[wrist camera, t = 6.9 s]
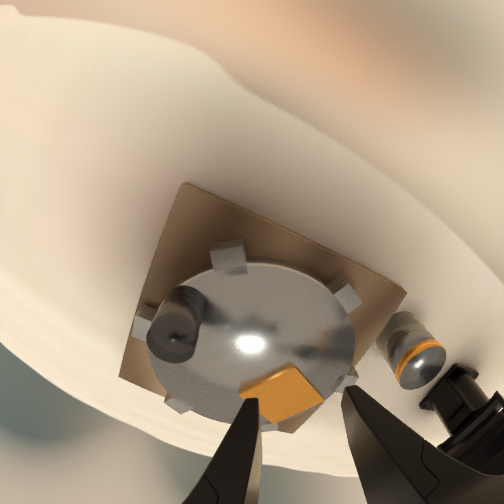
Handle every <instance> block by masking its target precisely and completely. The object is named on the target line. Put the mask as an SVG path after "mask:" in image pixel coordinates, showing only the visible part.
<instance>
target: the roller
mask: <svg viewBox="0 0 504 504" xmlns="http://www.w3.org/2000/svg"><path fill="white" fill-rule="evenodd" d="M376 344H377V346H378V348H379V349H380V351H381V352H382V354H383V356H384V357H385V359H386V361H387V362H388V364H389V366H390V367H391V369H392V371H393V373H394V374H395V377H396V379H397V381H398V382H399V384H400V386H401V387H402V388H404V389H407V390H412V389H417V388H420V387H422V386H424V385H425V384H427V383H429V382H430V381H431V380H432V379H433V378H434V377H435V376H436V375H437V374H438V373H439V372H440V370H441V369H442V367H443V365H444V363H445V360H446V351H445V349H444V348H443V347H442V345H441V344H440V343H439V342H438V341H436V340H435V338H434V337H433V336H432V335H431V334H430V333H429V332H428V330H427V329H426V328H425V327H424V326H423V325H422V324H421V323H420V322H419V320H418V319H417V318H416V317H415V316H414V315H413V314H412V313H410V312H399V313H396V314H394V315H392V317H391V318H390V320H389V321H388V323H387V324H386V326H385V327H384V328H383V330H382V331H381V333H380V334H379V335H378V337H377V338H376Z"/></svg>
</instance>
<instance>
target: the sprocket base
mask: <svg viewBox="0 0 504 504" xmlns="http://www.w3.org/2000/svg"><path fill="white" fill-rule="evenodd" d="M241 238H243V240H244V245H245V251H246V256H247V257H265V258H271V259H278V260H281V261H285V262H289V263H292V264H294V265H297V266H299V267H301V268H304V269H306V270H308V271H309V272H311V273H313V274H314V275H316V276H317V277H319V278H320V279H321V280H322V281H323V282H325V283H326V284H328V283H329V282H331V281H332V280H333V279H335V278H336V277H337V276H339V275H340V274H341V273H342V275H343V276H344V277H345V279H346V280H347V281H348V283H349V284H350V285H351V287H352V288H353V290H354V291H355V293H356V294H357V295H358V297H359V298H360V300H361V301H362V304H361V305H360V306H358V307H357V308H356V309H354V310H353V311H352V312H350V313H349V314H348V316H349V318H350V321H351V323H352V326H353V330H354V335H355V350H354V357H353V360H352V364H351V365H354V367H355V365H356V364H357V363H358V362H359V360H360V359H361V358H362V357H363V355H364V354H365V353H366V351H367V350H368V349H369V347H370V346H371V345H372V343H373V342H374V341H375V339H376V338H377V337H378V335H379V334H380V333H381V331H382V330H383V328H384V327H385V326H386V324H387V323H388V321H389V320H390V318H391V317H392V315H393V314H394V312H395V311H396V309H397V308H398V306H399V305H400V303H401V302H402V300H403V299H404V297H405V296H406V294H407V292H406V291H405V290H404V289H403V288H402V287H400V286H398V285H396V284H394V283H392V282H391V281H389V280H387V279H385V278H383V277H381V276H379V275H377V274H375V273H374V272H372V271H370V270H368V269H366V268H364V267H362V266H360V265H358V264H356V263H354V262H352V261H350V260H348V259H346V258H345V257H343V256H341V255H339V254H337V253H335V252H333V251H331V250H329V249H327V248H325V247H323V246H321V245H319V244H317V243H315V242H313V241H311V240H309V239H306V238H304V237H302V236H300V235H298V234H296V233H294V232H292V231H290V230H288V229H286V228H284V227H282V226H280V225H278V224H275V223H273V222H271V221H269V220H267V219H265V218H263V217H261V216H259V215H256V214H254V213H252V212H250V211H248V210H246V209H244V208H241V207H239V206H237V205H235V204H233V203H231V202H228V201H226V200H224V199H222V198H220V197H217V196H215V195H213V194H211V193H208V192H206V191H204V190H202V189H199V188H197V187H195V186H193V185H190V184H188V183H186V182H185V183H183V184H182V185H181V187H180V189H179V192H178V194H177V197H176V199H175V202H174V204H173V207H172V209H171V212H170V214H169V217H168V219H167V222H166V224H165V227H164V230H163V232H162V235H161V238H160V240H159V243H158V246H157V249H156V251H155V254H154V257H153V260H152V263H151V266H150V269H149V272H148V275H147V278H146V281H145V284H144V287H143V290H142V293H141V296H140V299H139V303H138V306H137V309H136V313H137V311H138V310H139V308H140V307H141V305H142V304H144V305H147V306H149V307H152V308H154V309H157V310H158V309H159V307H160V305H161V303H162V301H163V300H164V298H165V297H166V296H167V294H168V293H169V292H170V290H171V289H172V288H173V287H174V286H175V285H176V284H177V283H178V282H179V281H181V280H182V279H183V278H185V277H186V276H188V275H189V274H190V273H192V272H194V271H196V270H198V269H200V268H202V267H204V266H206V265H209V264H212V260H211V256H210V249H211V247H212V244H213V243H218V242H224V241H230V240H235V239H241ZM136 313H135V315H136ZM134 319H135V316H134ZM134 319H133V323H132V326H131V330H130V334H129V337H128V341H127V345H126V349H125V352H124V356H123V360H122V364H121V369H120V373H119V377H120V378H122V379H124V380H127V381H129V382H131V383H133V384H135V385H138V386H140V387H142V388H144V389H147V390H149V391H151V392H154V393H156V394H159V395H161V396H164V397H166V393H167V391H166V390H165V389H164V387H163V386H162V385H161V383H160V382H159V380H158V379H157V377H156V375H155V373H154V371H153V369H152V366H151V364H150V360H149V355H148V346H147V343H146V342H145V341H142V340H140V339H137V338H135V337H132V330H133V324H134ZM323 402H324V401H323ZM323 402H322V403H321V404H319V405H318V406H316V407H315V408H313V409H311V410H310V411H308V412H306V413H304V414H302V415H300V416H297V417H294V418H292V419H289V420H285V421H281V422H278V429H279V430H276V431H281V432H286V433H291V434H293V433H294V432H295V431H296V430H297V429H298V428H299V427H300V426H301V425H302V424H303V423H304V422H305V421H306V420H307V419H308V418H309V417H310V416H311V415H312V414H313V413H314V412H315V411H316V410H317V409H318V408H319V407H320V406H321V405H322V404H323Z"/></svg>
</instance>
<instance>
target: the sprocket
mask: <svg viewBox="0 0 504 504" xmlns="http://www.w3.org/2000/svg"><path fill="white" fill-rule="evenodd" d="M210 256H211V260H212V264H209V265H206V266H204V267H202V268H200V269H198V270H196V271H194V272H192V273H190V274H189V275H188V276H186V277H185V278H183V279H182V280H181V281H179V282H178V283H177V284H176V285H175V286H174V287H173V288H172V289H171V290H170V292H169V293H168V294H167V296H166V297H165V298H164V300H163V301H162V303H161V305H160V307H159V309H158V310H157V309H154V308H152V307H149V306H147V305H144V304H142V305H141V307H140V308H139V310H138V311H137V313H136V315H135V319H134V324H133V330H132V337H135V338H137V339H140V340H142V341H145V342H146V343H147V346H148V355H149V360H150V364H151V366H152V369H153V371H154V373H155V375H156V377H157V379H158V380H159V382H160V383H161V385H162V386H163V387H164V389H165V390H166V391H167V393H166V397H165V400H164V403H165V404H167V405H168V406H169V407H171V408H172V409H174V410H175V411H177V412H178V413H179V414H183V413H185V412H187V411H189V410H191V411H193V412H195V413H197V414H199V415H202V416H204V417H207V418H209V419H213V420H216V421H220V422H224V423H229V424H232V422H233V421H234V419H235V417H236V415H237V413H238V411H239V410H240V408H241V406H242V404H243V402H244V400H245V399H246V398H254V397H257V398H258V399H259V407H260V419H261V432H266V431H274V430H279V429H278V422H281V421H285V420H289V419H292V418H294V417H297V416H300V415H302V414H304V413H306V412H308V411H310V410H311V409H313V408H315V407H316V406H318V405H319V404H321V403H322V402H323V401H325V400H326V399H327V398H328V397H329V396H330V395H332V394H333V393H334V392H339V393H343V391H344V388H345V387H346V386H352V385H354V383H355V382H356V381H357V379H358V378H359V376H358V374H357V372H356V370H355V368H354V365H351V364H352V360H353V357H354V350H355V335H354V330H353V326H352V323H351V321H350V318H349V316H348V314H349V313H350V312H352V311H353V310H354V309H356V308H357V307H358V306H360V305H361V304H362V301H361V300H360V298H359V297H358V295H357V294H356V293H355V291H354V290H353V288H352V287H351V285H350V284H349V283H348V281H347V280H346V279H345V277H344V276H343V275H342V273H341V274H340V275H339V276H337V277H336V278H335V279H333V280H332V281H331V282H329V283H328V284H326V283H325V282H323V281H322V280H321V279H320V278H319V277H317V276H316V275H314V274H313V273H311V272H309V271H308V270H306V269H304V268H301V267H299V266H297V265H294V264H292V263H289V262H285V261H281V260H278V259H271V258H265V257H247V256H246V251H245V245H244V240H243V238H241V239H235V240H230V241H224V242H218V243H213V244H212V247H211V249H210Z"/></svg>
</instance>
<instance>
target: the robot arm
mask: <svg viewBox="0 0 504 504" xmlns="http://www.w3.org/2000/svg"><path fill="white" fill-rule="evenodd" d="M478 375H479V373H478V372H477V371H475V370H472V369H470V368H467V367H464V366H461V365H458V364H455V365H454V366H453V367H452V368H451V369H450V370H449V372H448V373H447V374H446V375H445V377H444V378H443V379H442V380H441V381H440V383H439V384H438V385H437V386H436V387H435V388H434V389H433V391H432V392H431V393H430V394H429V395H428V396H427V397H426V398H425V399H424V400H423V401H422V403H421V404H420V405H419V407H420V408H421V409H425V410H433V411H436V413H437V415H438V416H439V418H440V420H441V421H442V423H443V425H444V426H445V428H446V430H447V432H448V433H449V435H450V437H449V438H448V439H447V440H446V441H444V442H443V443H442V444H440V445H438V446H437V448H436V447H435V446H433V445H432V444H431V443H429V442H428V441H427V440H424V438H423V437H421V436H420V435H419V434H417V433H416V432H415V431H414V430H412V429H411V428H410V427H408V426H407V425H406V424H405V423H403V422H402V421H401V420H400V419H398V418H397V417H396V416H394V415H393V414H392V413H391V412H389V411H388V410H387V409H386V408H384V407H383V406H382V405H381V404H379V403H378V402H377V401H376V400H375V399H373V398H372V397H371V396H370V395H368V394H367V393H366V392H365V391H364V390H362V389H361V388H360V387H359V386H357V385H352V386H346V387H345V388H344V391H343V396H342V401H341V407H342V413H343V418H344V423H345V428H346V433H347V439H348V443H349V447H350V450H351V453H352V456H353V459H354V463H355V466H356V469H357V472H358V475H359V478H360V481H361V484H362V488H363V491H364V494H365V497H366V501H367V504H504V397H503V396H502V395H501V394H500V393H499V392H498V391H496V392H495V393H494V394H493V396H492V398H491V399H490V400H489V399H488V397H487V396H486V395H485V393H484V392H483V391H482V389H481V388H480V387H479V386H478V384H477V383H476V382H475V381H474V380H475V379H476V378H477V376H478ZM502 407H503V409H502V410H501V412H498V411H499V410H500V409H501V408H502ZM261 466H262V436H261V419H260V407H259V399H258V398H257V397H254V398H246V399H245V400H244V402H243V404H242V406H241V408H240V410H239V411H238V413H237V415H236V417H235V419H234V421H233V422H232V424H231V426H230V428H229V430H228V431H227V433H226V435H225V437H224V438H223V440H222V442H221V444H220V445H219V447H218V449H217V451H216V452H215V454H214V456H213V457H212V459H211V461H210V463H209V464H208V466H207V468H206V469H205V471H204V473H203V475H202V476H201V477H200V479H199V481H198V482H197V484H196V485H195V487H194V488H193V490H192V491H191V492H190V494H189V495H188V497H187V498H186V499H185V500H184V501H183V503H182V504H258V498H259V487H260V478H261Z"/></svg>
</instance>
